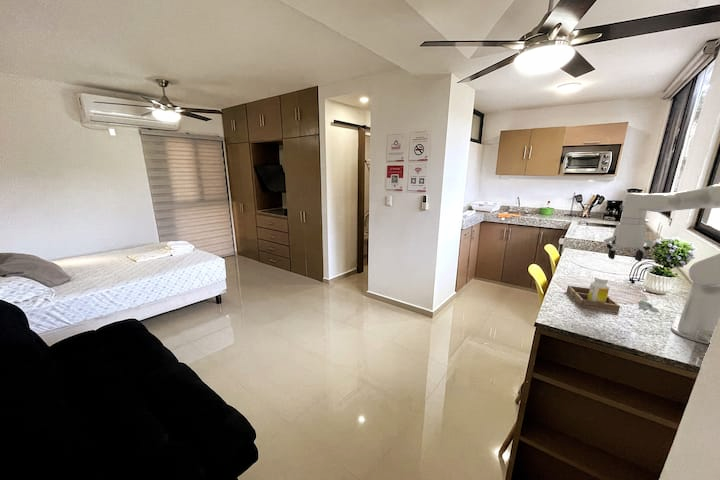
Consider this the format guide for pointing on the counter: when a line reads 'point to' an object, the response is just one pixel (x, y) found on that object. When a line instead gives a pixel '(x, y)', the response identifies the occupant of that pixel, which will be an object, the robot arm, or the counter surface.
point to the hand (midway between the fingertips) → (624, 259)
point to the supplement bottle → (598, 290)
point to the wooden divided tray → (581, 299)
